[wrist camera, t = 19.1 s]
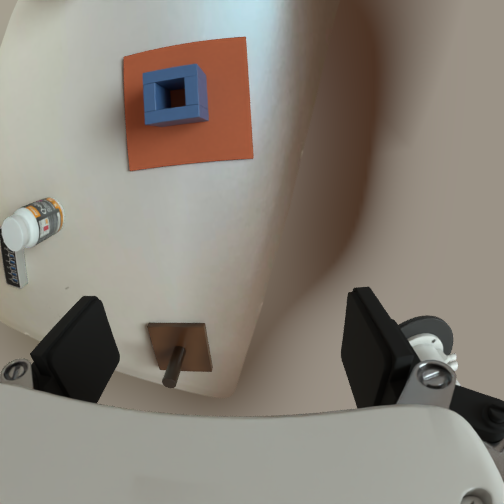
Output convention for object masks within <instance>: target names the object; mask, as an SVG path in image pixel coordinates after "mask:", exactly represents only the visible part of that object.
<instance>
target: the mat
mask: <svg viewBox="0 0 504 504" xmlns="http://www.w3.org/2000/svg"><path fill="white" fill-rule="evenodd" d="M190 64H198V66H199V67H200V68H201V69H202V71H203V72H204V73H205V74H206V78H207V97H208V114H209V121H205V122H196V123H187V124H180V125H173V126H166V127H158V126H150V125H145V117H144V113H145V112H144V98H143V73H146V72H151V71H155V70H160V69H166V68H171V67H177V66H183V65H190ZM170 96H171V108H174V107H181V106H186V102H185V89H178V90H172V91H170ZM124 101H125V120H126V135H127V147H128V158H129V168H130V171H133V170H140V169H148V168H155V167H163V166H171V165H180V164H189V163H199V162H210V161H222V160H236V159H253V143H252V126H251V110H250V94H249V78H248V63H247V47H246V37H236V38H224V39H215V40H207V41H199V42H192V43H186V44H180V45H174V46H169V47H164V48H159V49H154V50H149V51H145V52H141V53H137V54H133V55H129V56H125V57H124Z"/></svg>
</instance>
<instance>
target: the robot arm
mask: <svg viewBox="0 0 504 504" xmlns="http://www.w3.org/2000/svg"><path fill="white" fill-rule="evenodd" d="M30 355H31V357H32V359H33V361H34V362H33V363H32V365H31V363H30V362H29V361H28V360H27V359H16V360H13V361H11V362H9V363H8V364H7V365H6V366H5V367H4V368H3V369H2V371H1V374H0V504H504V401H502V400H500V399H497V398H494V397H491V396H488V395H485V394H482V393H479V392H476V391H473V390H470V389H467V388H464V387H461V386H460V384H459V382H458V381H457V379H456V374H455V372H454V371H455V370H457V368H458V364H457V362H456V361H454V360H456V354H455V353H454V354H450V355H445V354H444V353H443V345H442V343H441V341H440V340H439V338H438V337H437V336H435V335H433V334H429V333H422V334H417V335H414V336H412V337H410V338H408V339H407V338H406V337H405V335H404V334H403V332H402V330H401V329H400V327H399V326H398V324H397V323H396V322H395V320H393V319H391V318H390V316H389V315H388V313H387V312H386V310H385V309H384V308H383V306H382V305H381V303H380V302H379V300H378V299H377V297H376V296H375V294H374V293H373V291H372V290H371V289H370V288H369V287H360V288H354V289H353V291H352V292H349V293H348V297H347V307H346V317H345V325H344V333H343V341H342V348H341V358H342V362H343V365H344V368H345V371H346V374H347V377H348V380H349V383H350V386H351V390H352V393H353V395H354V399H355V402H356V405H357V409H350V410H340V411H330V412H322V413H310V414H296V415H280V416H244V417H243V416H239V417H236V416H201V415H184V414H171V413H160V412H150V411H142V410H134V409H127V408H120V407H114V406H108V405H102V404H97V402H98V400H99V398H100V396H101V394H102V392H103V390H104V389H105V387H106V385H107V383H108V381H109V379H110V378H111V376H112V374H113V372H114V370H115V368H116V367H117V365H118V363H119V360H120V354H119V351H118V348H117V346H116V343H115V340H114V337H113V334H112V331H111V328H110V325H109V322H108V319H107V316H106V313H105V310H104V306H103V303H102V301H101V300H99V299H98V297H96V296H83V297H82V298H81V299H80V300H79V301H78V302H77V303H76V304H75V305H74V306H73V307H72V308H71V309H70V310H69V311H68V312H67V313H66V314H65V315H64V317H63V318H62V319H61V320H60V321H59V322H58V323H57V324H56V325H55V326H54V327H53V328H52V330H51V331H50V332H49V333H48V334H47V335H46V336H45V337H44V338H43V340H42V341H41V342H40V343H39V344H38V346H36V348H35V349H34V350H33V351H32V352H31V353H30ZM450 361H452V362H450ZM448 362H449V363H448Z"/></svg>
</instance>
